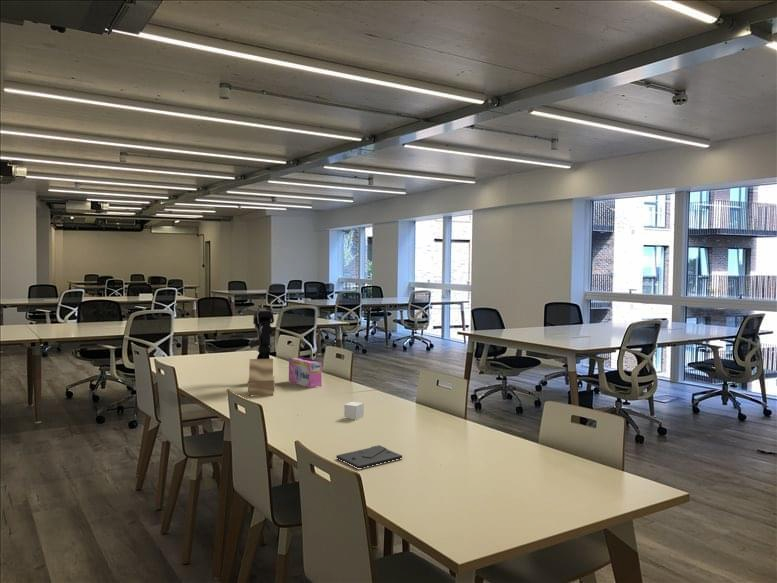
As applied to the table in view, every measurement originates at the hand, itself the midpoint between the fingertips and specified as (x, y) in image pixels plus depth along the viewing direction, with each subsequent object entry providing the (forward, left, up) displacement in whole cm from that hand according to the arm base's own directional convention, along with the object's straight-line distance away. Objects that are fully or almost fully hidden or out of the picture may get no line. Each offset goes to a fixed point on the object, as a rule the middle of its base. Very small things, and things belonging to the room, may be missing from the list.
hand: (265, 363), depth 316 cm
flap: (+16, -9, 0) cm, 18 cm away
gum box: (+3, +22, -13) cm, 26 cm away
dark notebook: (+130, -17, -14) cm, 132 cm away
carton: (+13, -7, -13) cm, 20 cm away
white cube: (+80, +7, -13) cm, 81 cm away
